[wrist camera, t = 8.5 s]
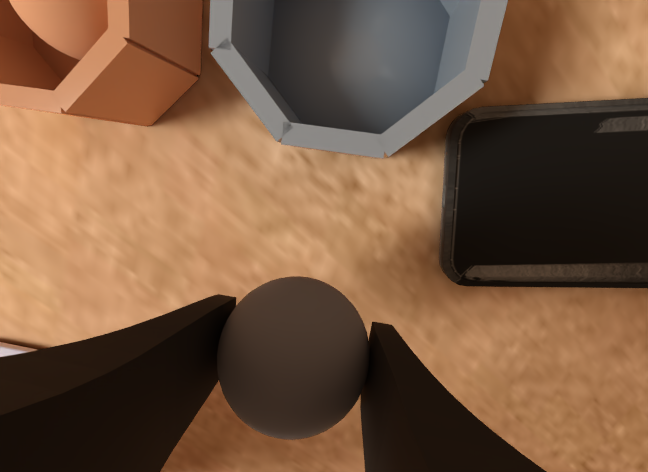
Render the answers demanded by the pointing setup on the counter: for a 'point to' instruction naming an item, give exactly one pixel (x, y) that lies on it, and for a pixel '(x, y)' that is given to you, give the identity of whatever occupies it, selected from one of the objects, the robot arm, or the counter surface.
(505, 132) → the phone
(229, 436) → the counter surface
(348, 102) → the slate cup
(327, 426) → the charcoal ball
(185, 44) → the terracotta octagonal bowl
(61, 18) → the terracotta ball
